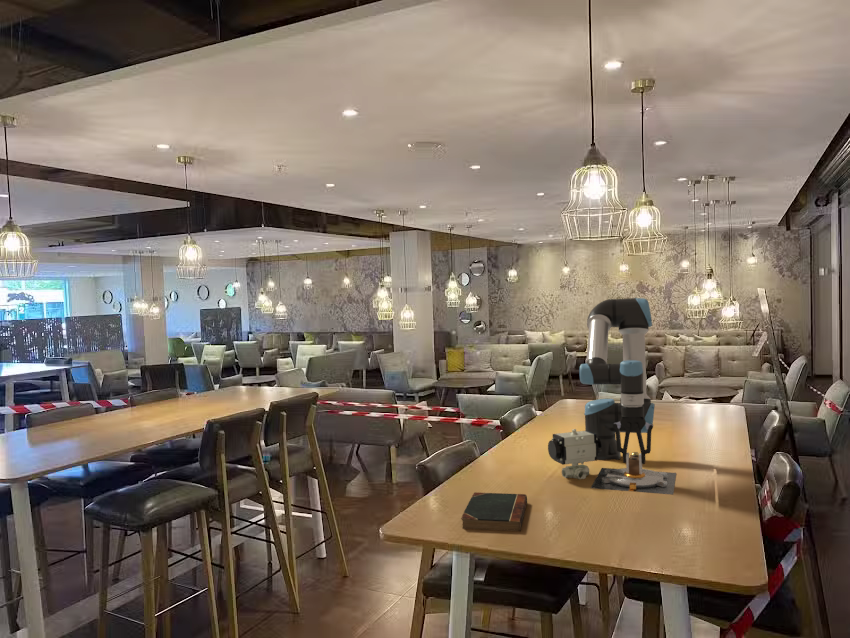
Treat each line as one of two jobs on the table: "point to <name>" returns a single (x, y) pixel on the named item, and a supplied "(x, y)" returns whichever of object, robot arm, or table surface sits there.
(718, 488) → the table surface
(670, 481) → the base plate
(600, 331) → the robot arm
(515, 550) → the table surface
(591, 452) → the ball valve
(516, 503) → the book
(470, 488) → the table surface
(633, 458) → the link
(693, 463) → the table surface
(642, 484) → the turntable with brass post
